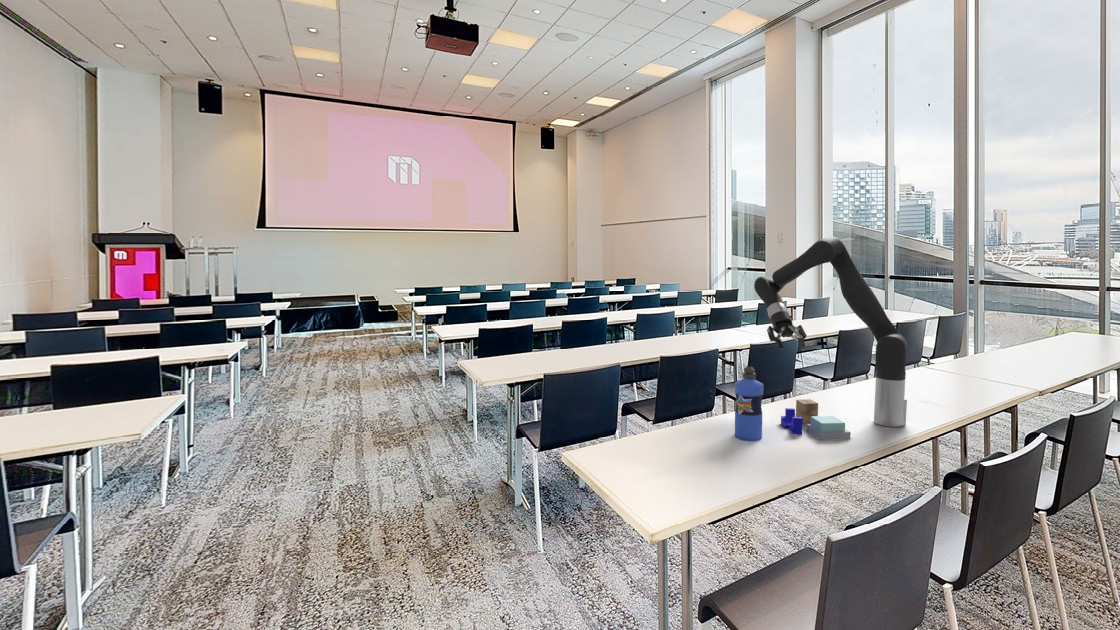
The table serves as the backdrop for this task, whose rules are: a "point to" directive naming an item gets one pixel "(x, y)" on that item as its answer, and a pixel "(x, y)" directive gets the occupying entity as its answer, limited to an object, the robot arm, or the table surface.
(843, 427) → the teal top slab
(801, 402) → the walnut block
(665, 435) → the table surface
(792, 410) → the cable clip
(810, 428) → the slate base slab
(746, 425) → the water bottle
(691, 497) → the table surface
